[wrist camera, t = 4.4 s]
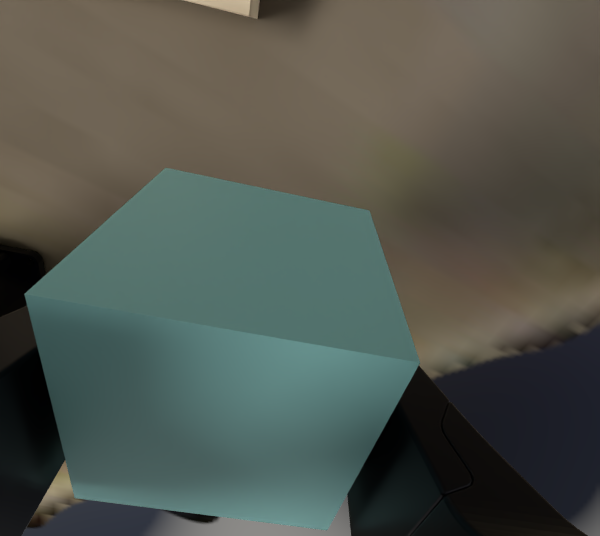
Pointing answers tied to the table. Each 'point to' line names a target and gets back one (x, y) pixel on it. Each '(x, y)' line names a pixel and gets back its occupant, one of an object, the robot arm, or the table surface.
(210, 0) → the cream square tray
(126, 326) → the teal cube
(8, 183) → the table surface
